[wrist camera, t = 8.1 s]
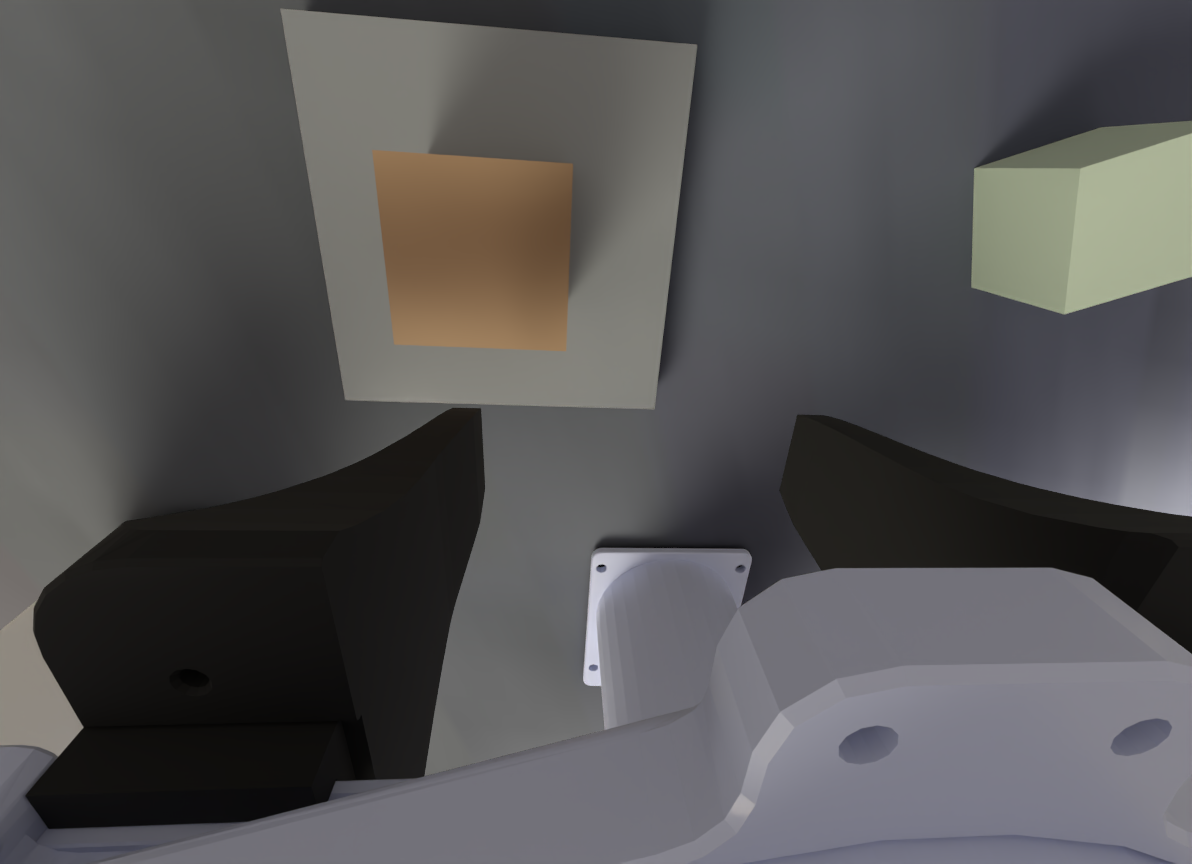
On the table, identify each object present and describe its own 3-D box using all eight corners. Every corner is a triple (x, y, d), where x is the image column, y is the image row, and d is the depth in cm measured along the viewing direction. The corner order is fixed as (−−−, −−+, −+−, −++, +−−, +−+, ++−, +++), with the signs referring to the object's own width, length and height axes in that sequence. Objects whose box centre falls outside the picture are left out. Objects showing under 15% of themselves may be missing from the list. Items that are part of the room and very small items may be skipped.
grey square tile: (648, 395, 22) (654, 409, 21) (358, 385, 22) (345, 400, 20) (686, 54, 17) (697, 44, 16) (303, 21, 16) (280, 8, 15)
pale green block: (1083, 252, 21) (1207, 272, 17) (969, 286, 21) (1064, 314, 17) (1098, 127, 19) (1242, 116, 15) (972, 168, 19) (1080, 168, 15)
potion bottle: (89, 504, 23) (-973, 1259, 7) (283, 499, 24) (-298, 1195, 8) (156, 640, 27) (-442, 1337, 11) (324, 633, 27) (-11, 1291, 11)
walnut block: (564, 304, 19) (566, 351, 14) (437, 298, 19) (393, 344, 14) (569, 165, 17) (573, 163, 12) (427, 155, 17) (372, 149, 12)
